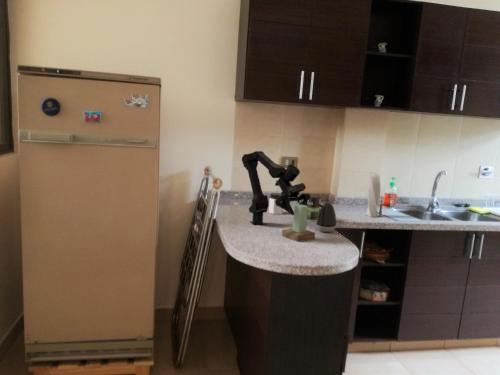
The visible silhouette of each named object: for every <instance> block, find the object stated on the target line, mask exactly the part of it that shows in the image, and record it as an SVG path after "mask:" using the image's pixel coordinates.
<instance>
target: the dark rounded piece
mask: <svg viewBox="0 0 500 375" xmlns="http://www.w3.org/2000/svg"><path fill="white" fill-rule="evenodd" d="M317 205H318V206H320V210H319V213H318V216H317V220H316V221H315V224H316V226H317V229H318V230H319V231H320V232H322V233H332V232H333V231H335V229H336V227H337V214H336V211H335V207H334V206H333V204H332V203H331V202H327V201H325V202H324V203H323V204H321V203H320V204H317Z"/></svg>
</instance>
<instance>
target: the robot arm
mask: <svg viewBox="0 0 500 375" xmlns="http://www.w3.org/2000/svg"><path fill="white" fill-rule="evenodd" d="M241 162H242V165H243V167H244V168H245V169H246V171H247V173H248V177H249V181H250V186H251V189H252V193H253V196H252V198H251V205H250V206H249V207H248V211H249V213H251V214H252V219H251V220H252V221H249V222H250V223H251V224H252V225H254V226H255V225H266V223H265V222H264V213H267V212H268V210H269V199H268V198H269V197H268V195H266V194H264V193H263V190H262V185H261V181H260V177H259V173H258V169H257V167H258V164H259V163H260V164H261V165H262V166H264V168H265V169H267V170H268V174H269V176H270V177H271V178H272V179H277V180H276V181H275V184H274V186H275V187H277V186H279V188H280V190H281V192H280V194H282V195H280V196H279V197H278V198H277V199H276V200H275V204H276V206H279V207H281V208H283V211H284V210H285V212H287V213H288V214H290V215H291V216H294V210H293V207H292V205H291V202H297V204H303V205H306V206H308V204H307V202H308V200H309V198H310V197H311V196H310V195H311V194H310V193H308V192H305V190H306V189H307V188H306V184H305V183H303V182H301V183H298V184H294V185H292V182H294V181H295V180H296V179H297V177H298V176H299V175H300V174H301V171H300V169H299V168H298V167H296V165H294V164H292V163H290V164H288V165H287V167H286V168H285V167H284V166H283V165H281V164H278V163H276V162H275V161H273V160H272V159H271V158H270V157H269V156H268V155H266V154H265V153H264V151H261V150H255V151H254V152H253V151H252V152H249V153H245V154H243V156H242V157H241ZM300 192H302V193H300ZM303 192H304V193H303ZM308 213H309V211H308Z"/></svg>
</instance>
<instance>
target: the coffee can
mask: <svg viewBox="0 0 500 375" xmlns="http://www.w3.org/2000/svg"><path fill="white" fill-rule="evenodd" d="M309 195H310V196H311V197H310V198H309V200H308V202H307V204H308V211H309V213H308V215H307V222H316V220H317V216H318V213H319V210H320V208H321V207H320V206H318V205H317V204H321V201H322V200H321V198H322V196H321V195H317V194H309Z"/></svg>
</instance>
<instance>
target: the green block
mask: <svg viewBox="0 0 500 375" xmlns="http://www.w3.org/2000/svg"><path fill="white" fill-rule="evenodd" d="M293 211H294V215H293V220H292V228H291V229H292V230H293V231H295V232H298V233H301V232H306V230H307V224H308V223H307V222H308V221H307V215H308V206H306V205H303V204H299V203H297V204H294V210H293Z"/></svg>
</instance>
